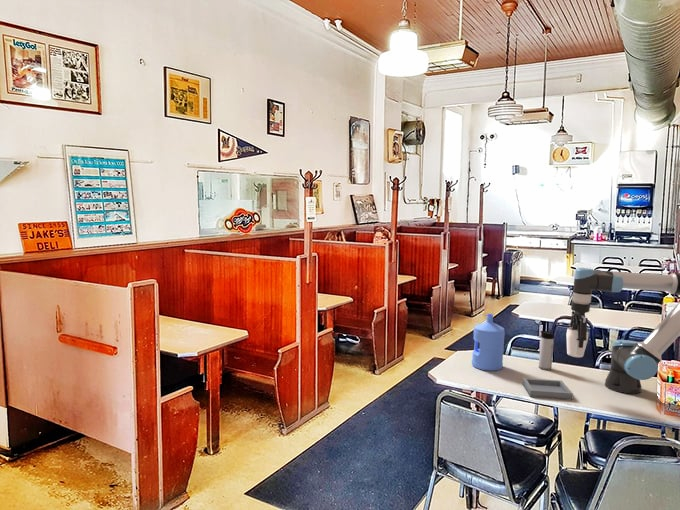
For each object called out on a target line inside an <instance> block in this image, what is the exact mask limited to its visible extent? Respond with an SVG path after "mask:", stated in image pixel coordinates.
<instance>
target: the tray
mask: <svg viewBox="0 0 680 510" xmlns="http://www.w3.org/2000/svg"><path fill="white" fill-rule="evenodd" d="M521 380H522V382H521V385H522V387H524V390H525V391H526V393H527V394H528V396H529V397H530V398H538V399H539V398H540V399H552V398H553V399H555V400H565V399H572V400H573V392H572V391H571V390H570V388H569V387H568V386H567V385H566V384H565V383H564V381H563V380H561V379H560V380H559V379H545V378H544V379H542V378H530V377H529V378H528V377H522V379H521Z"/></svg>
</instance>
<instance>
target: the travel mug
mask: <svg viewBox="0 0 680 510" xmlns="http://www.w3.org/2000/svg"><path fill="white" fill-rule="evenodd" d="M540 334H541V335H540V342H539V343H540V345H539V346H540V347H539V357H538V368H539V369H540V370H542V371H543V370H544V371H551V370H552V366H553V354H554V340H555V338H554V336H555V334H554V333H553V332H551V331H548V330H547V331H546V330H540Z"/></svg>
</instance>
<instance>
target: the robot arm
mask: <svg viewBox="0 0 680 510" xmlns="http://www.w3.org/2000/svg"><path fill="white" fill-rule="evenodd" d="M574 272H575V274H574V277H573V290H572V294H571V298H572V299H571V306H570V307H571V308H570V310H572V311H571V317H570V322H569V327H572V330H578V339H576V340H577V345H576V354H579V355H583V346H584V341H585V340H586V338H587V330H588V317H586V314H587V313H590V310H591V304H590V303H591V302H592V293H593V291H596V292H597V291H598V292H606V293H607V292H608V293H620V292H621V291H622V290H623V289H626V290H627V289H628V290H629V289H630V290H639V291H640V290H643V291H656V292H668V293H669V294H671V295H679V296H680V272H679V273H677V272H676V273H675V272H671V273H670V274H658V273H641V272H628V271H625V272H624V271H609V270H608V271H607V270H601V269H592V268H587V267H577V268H576V269H575V271H574ZM679 336H680V301H679V302H678V303H677V305H675V307H673V309H671V311H669V313H668V314H667V315H666V316H665V317H664V318H663V319H662V320H661V321H660V322H659V323H658V325H657V326H655V328H654V329H653V330H652V331H650V333H649V334H648V335H647V337H645V339H644V340H643V341H635V340H628V339H627V340H626V339H616V340H614V341H613V342H612V346H611V358H610V359H611V360H610V370H609V372H608V374H607V376H606V378H605V381H604V386H605V388H607V387H608V388H607V389H609V390H611V389H612V390H611V391H614V390H615V391H614V392H617V391H619V392H618V393H621V392H624V393H623V394H627V393H638V394H640V393H642V388H643V387H642V382H641V381H647V380H650V379H651V378H653V377H655V376H656V375H657V372H658V365H659V364H660V363H661V362H662V355H663V354H664V353H665V352H666V350H667V349H668V348H669V347H670V346H671V345H672V344H673V343H674V342H675V341H676V340H677V339H678V338H679ZM583 356H584V355H583ZM659 362H660V363H659ZM639 392H640V393H639Z"/></svg>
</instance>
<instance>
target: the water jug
mask: <svg viewBox="0 0 680 510" xmlns="http://www.w3.org/2000/svg"><path fill="white" fill-rule="evenodd" d="M493 319H494V314H492V313H486V321H484V322H481V323H478V324H475V326H474V327H473V340H474V346H473V351H472V357H471V358H472V359H471V365H472V366H473V367H474V368H476V369H479V370H483V371H487V372H489V371H490V372H493V371H496V372H497V371H500V370H502V368H503V365H504V363H503V359H504V350H505V349H504V345H505V336H506V335H505V328H504V327H503V326H501V325H499V324H497V323H495V322H493V321H494V320H493ZM478 347H479V348H478Z"/></svg>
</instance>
